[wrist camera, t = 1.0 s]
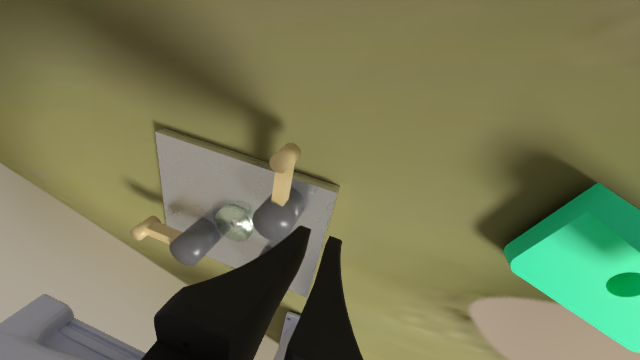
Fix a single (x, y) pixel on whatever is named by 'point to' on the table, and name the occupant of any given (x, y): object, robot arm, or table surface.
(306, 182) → the tribrach plate
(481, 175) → the table surface
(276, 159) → the knob
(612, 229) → the camera mount
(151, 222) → the knob
